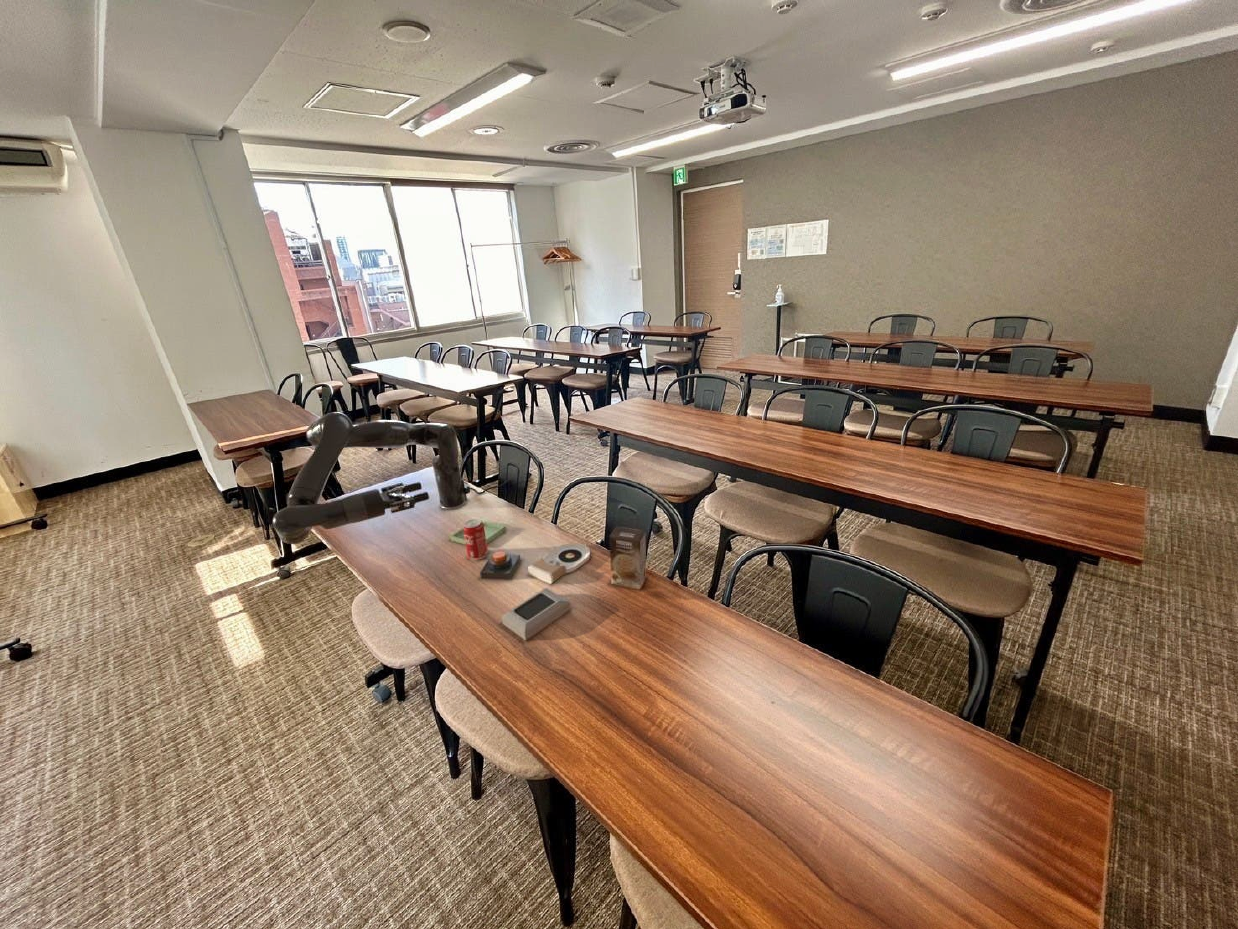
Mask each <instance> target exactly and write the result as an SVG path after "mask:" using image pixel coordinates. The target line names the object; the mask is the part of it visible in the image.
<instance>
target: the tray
mask: <svg viewBox="0 0 1238 929" xmlns="http://www.w3.org/2000/svg"><path fill="white" fill-rule="evenodd" d="M477 519H478V520H480V521H481V523H482V524H483V525H484V531H485V536H486V542H487V544H489V543H490V542H492V541H493V540H495V539H496V538H497V537H499V536H500V535H501V534H503V533H504V532H505V531H507V527H506V525H504V524H503V525H502V524H498V523H494V522H491V521H487V520H484V519H479V518H477ZM449 537H450V538H449V539H450V541H452V542H455V543H459V544H463V545H466V543H465V538H464V532H463V527H462V528H461V529H459V530H457V531H456V532H454V533H453V534H451V535H450V536H449Z"/></svg>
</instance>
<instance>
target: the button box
mask: <svg viewBox="0 0 1238 929" xmlns="http://www.w3.org/2000/svg"><path fill="white" fill-rule="evenodd" d="M504 553H505V556H506V560H504V561H503V562H494V559H493V555H494V553H492V554H491V555H490V557H489V558H488V560H487V562H486V563H485V564H484V566H483V567H482V569H481V570H480V572H479V574H480V579H484V580H504V581H505V580H506V581H510V580H511V579H512V577H513V575H514V573H515V572H516V570H517V568H518V566H519V565H520V562H521V554H510V553H508V552H504Z"/></svg>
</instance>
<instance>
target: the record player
mask: <svg viewBox="0 0 1238 929" xmlns="http://www.w3.org/2000/svg"><path fill="white" fill-rule="evenodd" d="M590 558H591V550H590V548H589V547H588V546H587V545H585V544H583V543H578V542H568V543H563V544H561V545H559V546H557V547H556V548H555V549H553V550H552V551H550V552H549V553H547V554H546V555H545V556H544V557H541V558H539V559H538V560H536V561H535V562H533V563H532V564H530V565H529V566H528V567H527V571H528V574H529V575H530V576H531V577H533V578H536V579H538V580H540V581H542V582H545V583H547V584H549V585H551V584H553V583H554V582H555V581H557V580H558V579H560V578H561V577H562V576H564V575H565V574H569V573H572V572H574V571H576V570H577V569H579V568H580V567H581V566H583V565H584V564H585V563H587V562H588V561H589V559H590Z"/></svg>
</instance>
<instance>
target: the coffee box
mask: <svg viewBox="0 0 1238 929" xmlns="http://www.w3.org/2000/svg"><path fill="white" fill-rule="evenodd" d="M646 532H647V531H646V529H641V528H635V527H628V526H623V525H615V526H614V528H613V529H612V531H611V533H610V534H609V556H610V559H609V560H610V580H611V582H610V583H611V585H616V586H621V587H627V588H631V589H637V590H641V589H642V587H643V585H644V583H645V580H646V579H647V548H646V546H647V545H646V544H647V540H646V539H647V533H646Z"/></svg>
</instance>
